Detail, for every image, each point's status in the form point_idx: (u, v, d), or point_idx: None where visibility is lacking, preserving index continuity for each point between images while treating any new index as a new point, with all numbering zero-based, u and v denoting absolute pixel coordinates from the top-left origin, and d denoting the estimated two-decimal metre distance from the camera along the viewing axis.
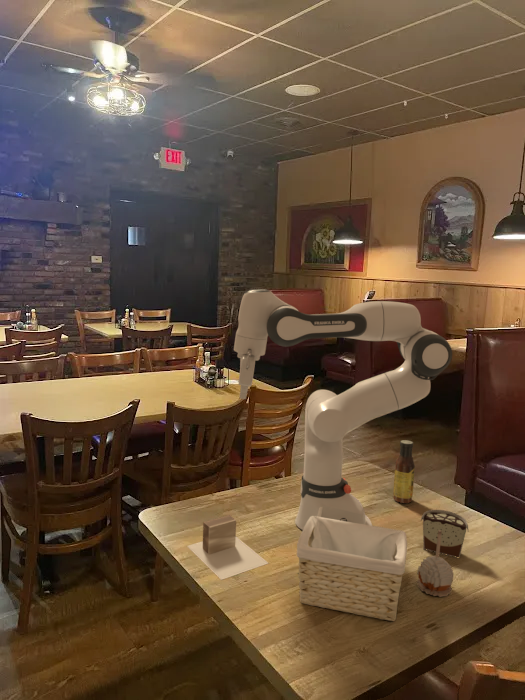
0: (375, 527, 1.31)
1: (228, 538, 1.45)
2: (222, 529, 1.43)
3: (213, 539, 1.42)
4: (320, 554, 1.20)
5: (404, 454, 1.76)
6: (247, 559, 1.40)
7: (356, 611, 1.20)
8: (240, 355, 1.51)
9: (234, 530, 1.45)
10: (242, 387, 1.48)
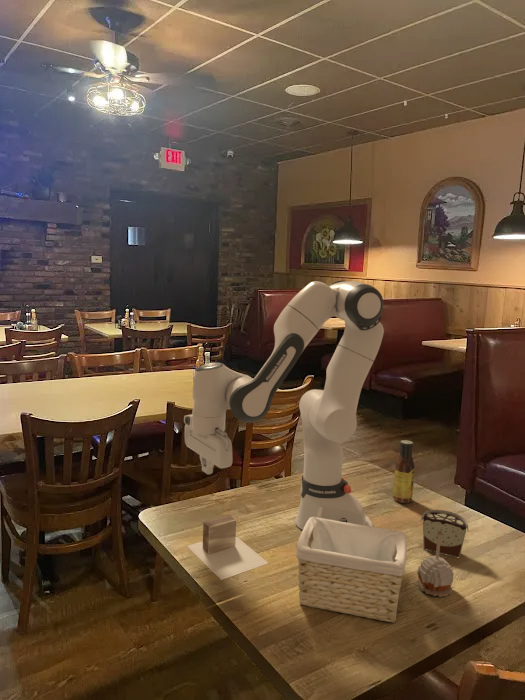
0: (375, 528, 1.31)
1: (228, 538, 1.45)
2: (222, 529, 1.43)
3: (213, 539, 1.42)
4: (319, 555, 1.19)
5: (404, 454, 1.76)
6: (247, 559, 1.40)
7: (356, 612, 1.19)
8: (204, 435, 1.43)
9: (234, 530, 1.45)
10: (210, 463, 1.45)
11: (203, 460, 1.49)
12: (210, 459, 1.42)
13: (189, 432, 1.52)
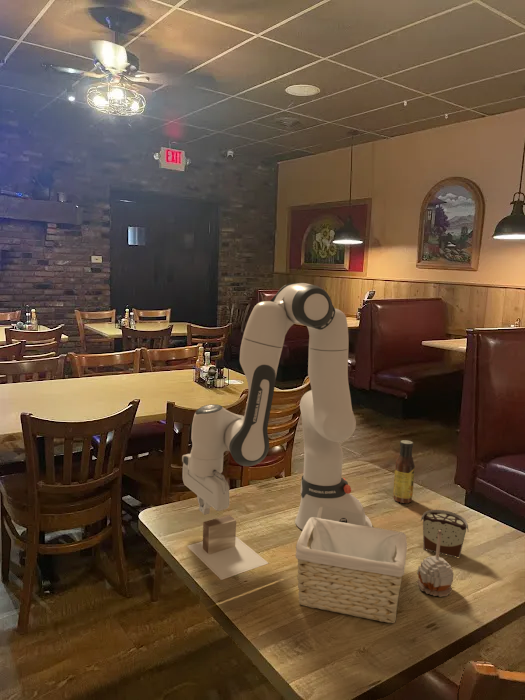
0: (375, 528, 1.30)
1: (228, 538, 1.45)
2: (222, 529, 1.43)
3: (213, 539, 1.42)
4: (319, 555, 1.19)
5: (404, 454, 1.76)
6: (247, 559, 1.40)
7: (355, 613, 1.19)
8: (202, 477, 1.45)
9: (234, 530, 1.45)
10: (207, 504, 1.47)
11: (200, 500, 1.50)
12: (207, 501, 1.44)
13: (186, 471, 1.53)
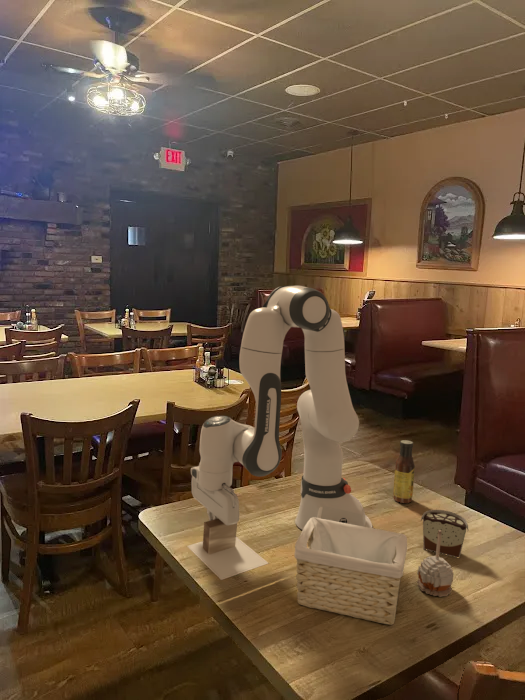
0: (375, 530, 1.30)
1: (229, 538, 1.44)
2: (223, 530, 1.43)
3: (214, 540, 1.42)
4: (317, 555, 1.19)
5: (404, 454, 1.76)
6: (247, 559, 1.40)
7: (354, 614, 1.19)
8: (211, 491, 1.42)
9: (235, 531, 1.45)
10: (216, 517, 1.44)
11: (210, 514, 1.47)
12: (217, 515, 1.41)
13: (195, 483, 1.51)
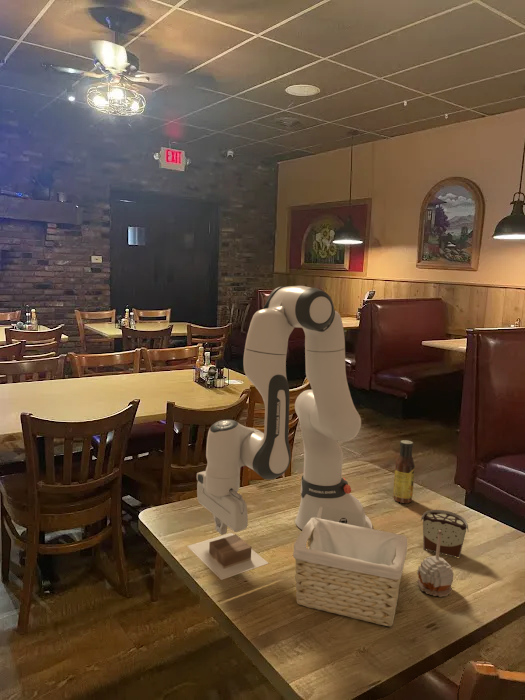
0: (376, 531, 1.29)
1: None
2: None
3: None
4: (316, 555, 1.19)
5: (404, 454, 1.76)
6: None
7: (352, 615, 1.19)
8: (218, 496, 1.39)
9: None
10: (224, 524, 1.41)
11: (217, 519, 1.44)
12: (224, 521, 1.38)
13: (201, 489, 1.47)
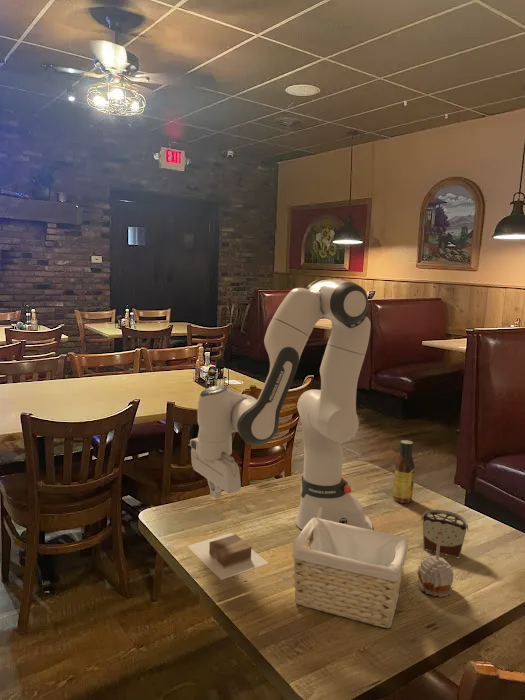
0: (376, 532, 1.29)
1: None
2: None
3: None
4: (314, 555, 1.19)
5: (404, 454, 1.76)
6: None
7: (350, 616, 1.18)
8: (211, 460, 1.42)
9: None
10: (218, 487, 1.44)
11: (211, 484, 1.47)
12: (218, 484, 1.41)
13: (195, 455, 1.50)
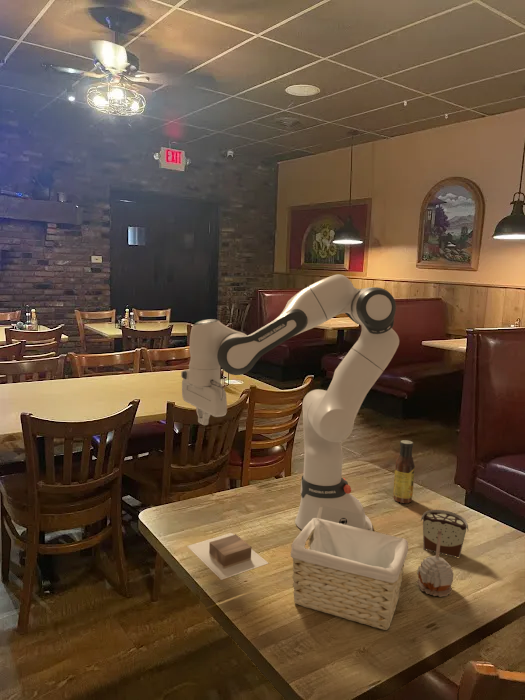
0: (377, 533, 1.28)
1: None
2: None
3: None
4: (312, 555, 1.19)
5: (404, 454, 1.76)
6: None
7: (348, 616, 1.18)
8: (200, 387, 1.52)
9: None
10: (206, 414, 1.54)
11: (199, 412, 1.57)
12: (206, 409, 1.51)
13: (186, 386, 1.60)
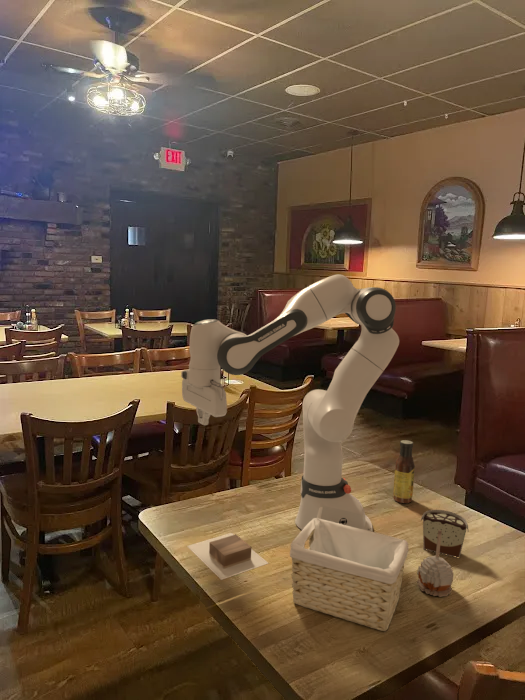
0: (377, 534, 1.28)
1: None
2: None
3: None
4: (311, 555, 1.19)
5: (404, 454, 1.76)
6: None
7: (347, 617, 1.18)
8: (200, 387, 1.52)
9: None
10: (206, 414, 1.54)
11: (199, 412, 1.57)
12: (206, 409, 1.51)
13: (186, 386, 1.60)
